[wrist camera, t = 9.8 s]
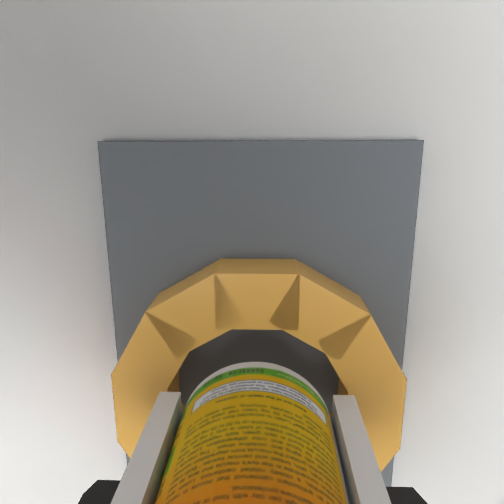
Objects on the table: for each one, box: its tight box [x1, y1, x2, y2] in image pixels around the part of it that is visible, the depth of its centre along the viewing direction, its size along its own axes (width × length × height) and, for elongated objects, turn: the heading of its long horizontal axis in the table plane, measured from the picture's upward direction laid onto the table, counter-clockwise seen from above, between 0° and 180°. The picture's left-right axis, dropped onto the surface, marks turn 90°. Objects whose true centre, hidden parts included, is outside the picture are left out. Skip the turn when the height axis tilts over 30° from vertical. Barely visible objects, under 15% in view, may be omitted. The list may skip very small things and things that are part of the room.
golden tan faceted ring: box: [111, 258, 407, 472], centre depth 17 cm, size 11×11×2 cm
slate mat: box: [98, 140, 424, 487], centre depth 18 cm, size 12×16×1 cm
